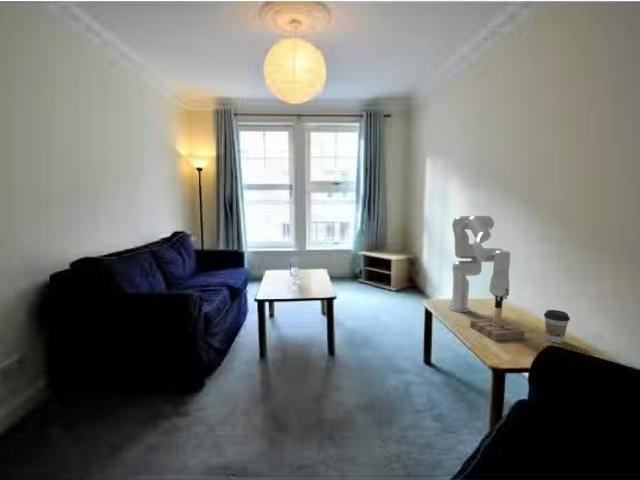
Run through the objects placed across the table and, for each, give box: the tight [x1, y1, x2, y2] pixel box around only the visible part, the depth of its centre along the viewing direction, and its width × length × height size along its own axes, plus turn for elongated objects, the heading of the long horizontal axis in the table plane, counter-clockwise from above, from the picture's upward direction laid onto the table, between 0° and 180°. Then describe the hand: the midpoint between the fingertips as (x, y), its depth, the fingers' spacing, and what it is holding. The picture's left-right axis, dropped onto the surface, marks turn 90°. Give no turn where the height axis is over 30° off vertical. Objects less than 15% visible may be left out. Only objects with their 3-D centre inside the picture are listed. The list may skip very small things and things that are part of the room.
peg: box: [492, 306, 503, 327], centre depth 205 cm, size 4×4×14 cm
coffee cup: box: [543, 309, 571, 343], centre depth 195 cm, size 11×11×15 cm
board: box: [469, 318, 526, 342], centre depth 206 cm, size 20×18×4 cm
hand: (498, 307), depth 204 cm, fingers closed
